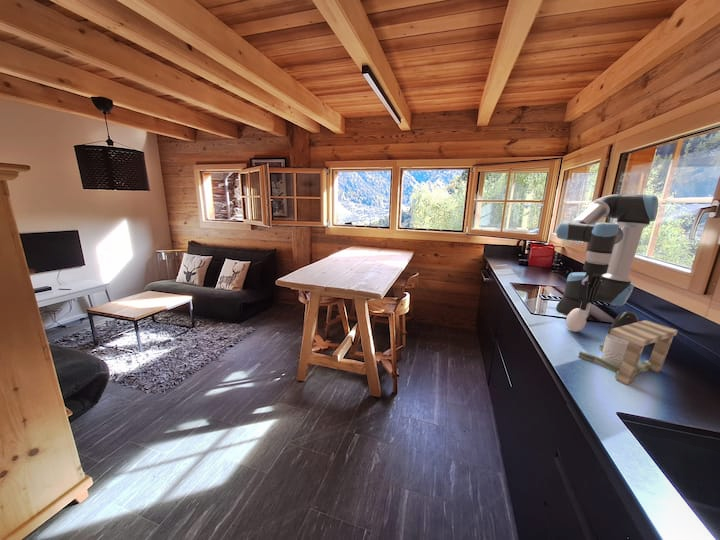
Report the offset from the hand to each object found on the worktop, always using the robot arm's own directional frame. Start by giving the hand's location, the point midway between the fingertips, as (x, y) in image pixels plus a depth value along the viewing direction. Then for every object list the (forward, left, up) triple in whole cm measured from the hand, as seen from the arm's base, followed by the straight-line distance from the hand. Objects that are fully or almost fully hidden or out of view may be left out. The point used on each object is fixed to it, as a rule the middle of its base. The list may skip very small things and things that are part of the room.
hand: (582, 316), depth 119 cm
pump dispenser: (-22, +6, -14) cm, 27 cm away
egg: (-14, -9, -14) cm, 22 cm away
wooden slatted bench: (+1, +15, -14) cm, 20 cm away
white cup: (0, +14, -14) cm, 19 cm away
